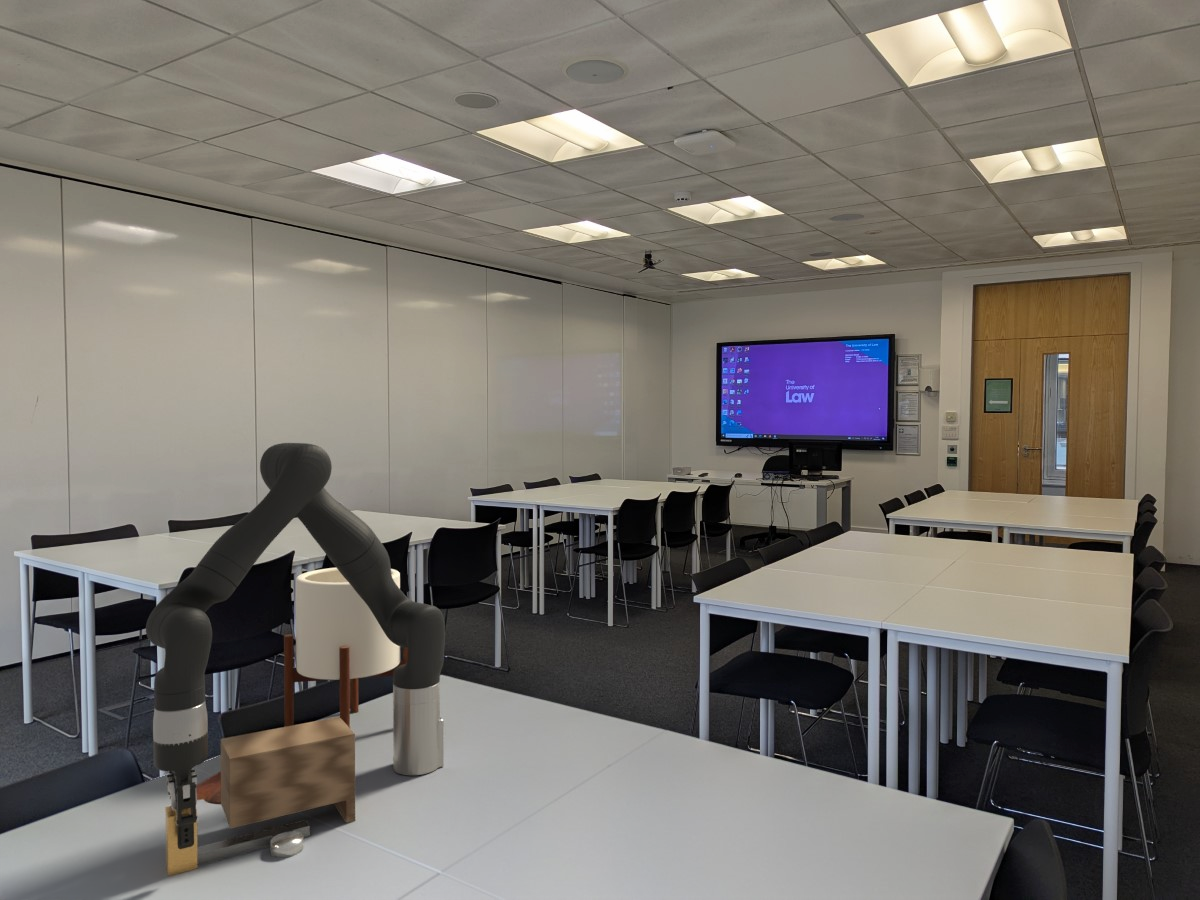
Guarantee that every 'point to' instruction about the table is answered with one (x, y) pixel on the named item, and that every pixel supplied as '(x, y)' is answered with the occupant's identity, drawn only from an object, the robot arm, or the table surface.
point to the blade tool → (217, 844)
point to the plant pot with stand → (335, 640)
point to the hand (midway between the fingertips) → (182, 835)
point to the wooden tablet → (210, 789)
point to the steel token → (287, 844)
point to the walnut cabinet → (288, 771)
